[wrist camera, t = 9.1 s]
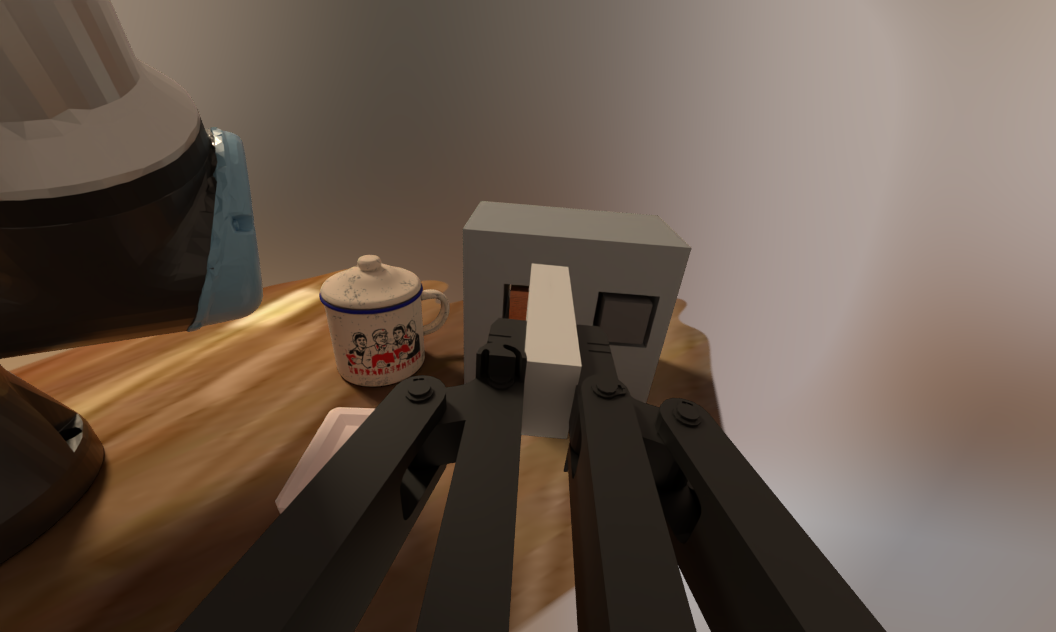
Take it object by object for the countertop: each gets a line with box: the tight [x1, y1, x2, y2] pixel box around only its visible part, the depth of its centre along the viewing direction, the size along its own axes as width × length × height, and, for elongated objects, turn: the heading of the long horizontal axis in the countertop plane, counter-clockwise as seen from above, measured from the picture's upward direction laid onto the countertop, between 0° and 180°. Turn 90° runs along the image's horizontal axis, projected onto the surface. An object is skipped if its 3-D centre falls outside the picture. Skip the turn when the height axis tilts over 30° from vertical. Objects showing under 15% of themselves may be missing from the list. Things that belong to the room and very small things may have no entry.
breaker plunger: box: [509, 284, 529, 320], centre depth 38 cm, size 4×10×4 cm, turn 178°
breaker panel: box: [463, 201, 691, 403], centre depth 38 cm, size 18×10×16 cm, turn 88°
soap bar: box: [275, 407, 375, 514], centre depth 29 cm, size 5×9×2 cm, turn 1°
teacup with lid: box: [319, 255, 449, 387], centre depth 38 cm, size 12×9×12 cm
